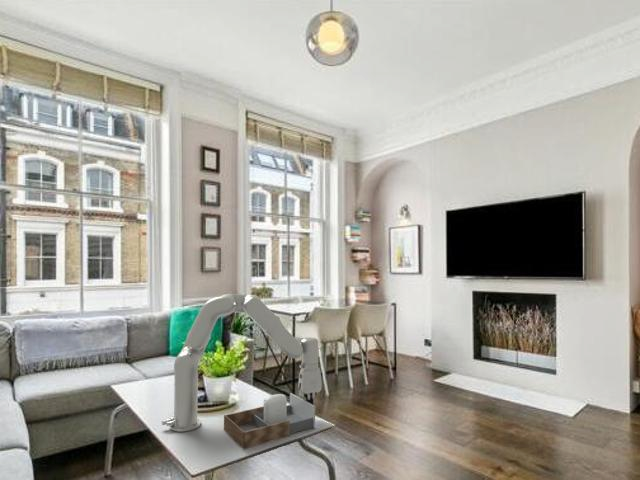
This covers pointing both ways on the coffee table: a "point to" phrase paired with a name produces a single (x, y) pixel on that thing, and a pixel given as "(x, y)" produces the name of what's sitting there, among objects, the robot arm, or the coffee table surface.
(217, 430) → the coffee table surface
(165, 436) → the coffee table surface
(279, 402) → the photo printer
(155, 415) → the coffee table surface
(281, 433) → the walnut housing
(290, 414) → the sliding tray
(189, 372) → the robot arm
